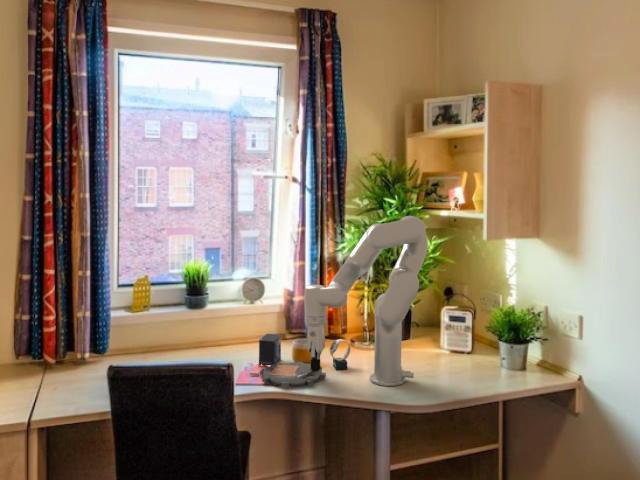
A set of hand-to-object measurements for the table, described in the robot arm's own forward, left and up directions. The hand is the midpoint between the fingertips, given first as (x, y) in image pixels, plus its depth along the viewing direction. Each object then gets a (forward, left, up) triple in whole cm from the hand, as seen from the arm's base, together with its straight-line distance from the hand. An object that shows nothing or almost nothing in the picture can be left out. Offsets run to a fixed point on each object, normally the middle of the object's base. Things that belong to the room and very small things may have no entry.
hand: (315, 369), depth 200 cm
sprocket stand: (+14, 0, -4) cm, 14 cm away
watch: (-6, -15, -4) cm, 17 cm away
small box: (+22, -16, -4) cm, 27 cm away
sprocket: (+9, 0, -4) cm, 9 cm away
